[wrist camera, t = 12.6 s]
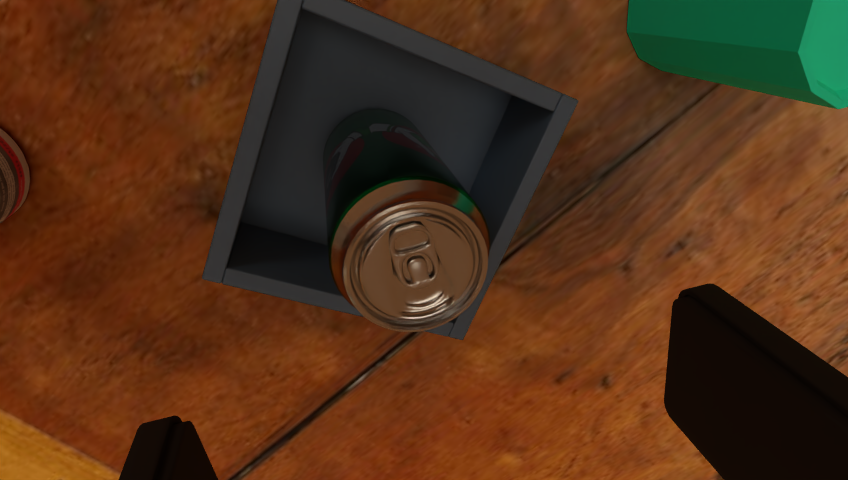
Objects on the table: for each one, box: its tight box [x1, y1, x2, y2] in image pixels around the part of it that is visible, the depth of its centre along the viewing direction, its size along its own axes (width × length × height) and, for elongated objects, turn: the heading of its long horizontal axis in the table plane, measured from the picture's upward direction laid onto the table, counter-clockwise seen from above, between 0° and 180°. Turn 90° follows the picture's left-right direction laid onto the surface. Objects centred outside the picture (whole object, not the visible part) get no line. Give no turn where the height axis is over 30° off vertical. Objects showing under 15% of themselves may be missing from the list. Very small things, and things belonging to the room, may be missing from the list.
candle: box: [627, 0, 848, 109], centre depth 21 cm, size 6×6×12 cm
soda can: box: [323, 108, 490, 332], centre depth 21 cm, size 5×5×12 cm
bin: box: [202, 0, 578, 340], centre depth 24 cm, size 12×12×6 cm
